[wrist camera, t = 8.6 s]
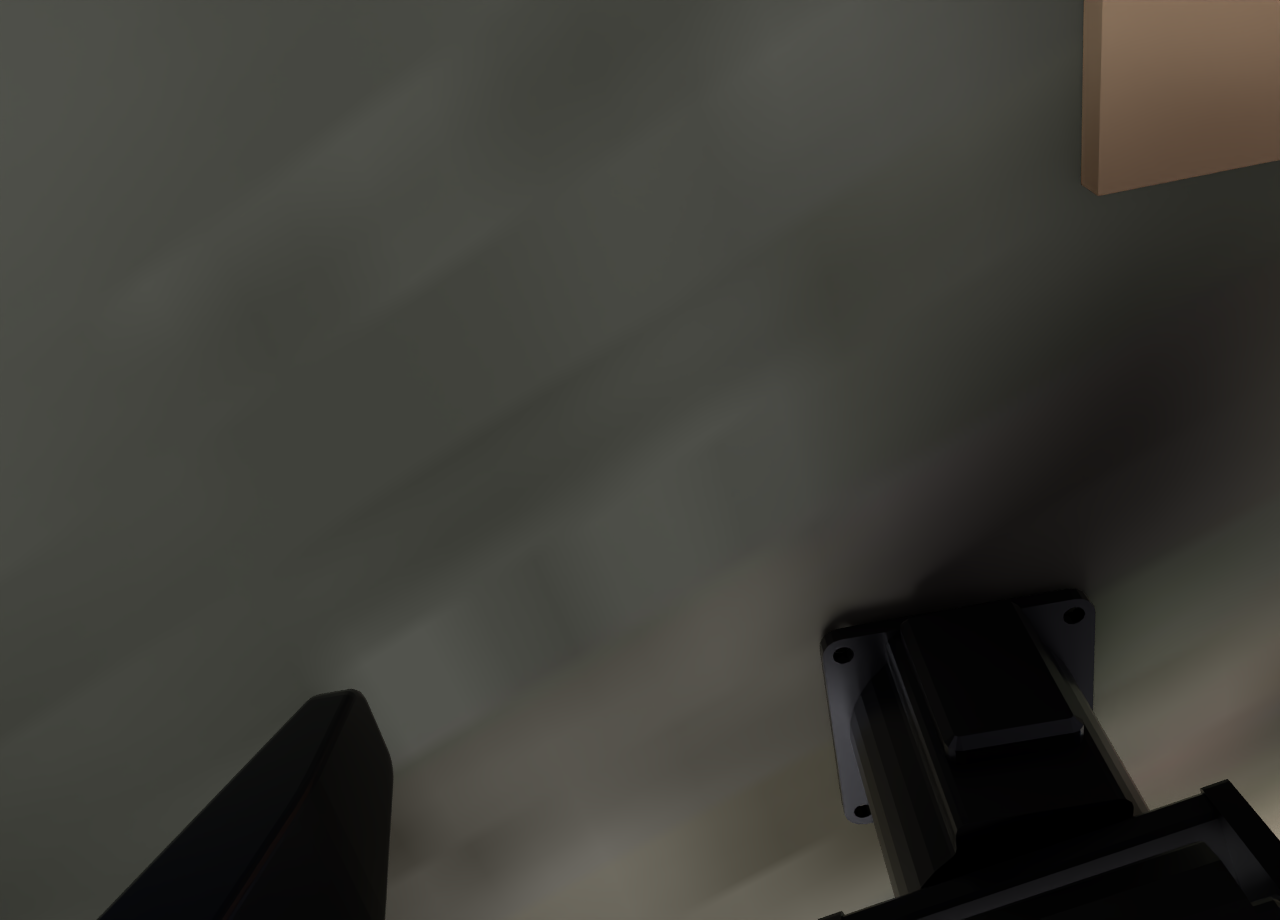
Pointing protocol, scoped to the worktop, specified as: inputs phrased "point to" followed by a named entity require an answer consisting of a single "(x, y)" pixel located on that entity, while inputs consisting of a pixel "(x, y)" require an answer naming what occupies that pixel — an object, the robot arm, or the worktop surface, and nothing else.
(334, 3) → the worktop surface
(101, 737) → the worktop surface
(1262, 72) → the flat square plate
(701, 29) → the worktop surface
